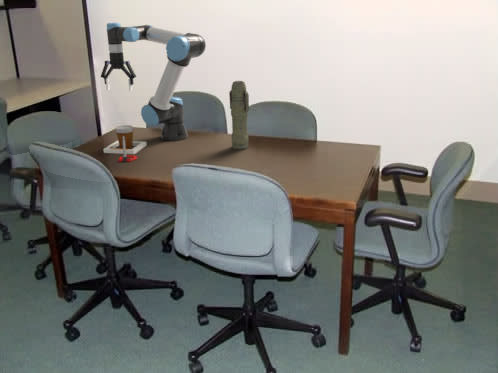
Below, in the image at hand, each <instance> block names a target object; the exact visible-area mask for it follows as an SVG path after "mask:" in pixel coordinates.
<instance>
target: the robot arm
mask: <svg viewBox="0 0 498 373" xmlns="http://www.w3.org/2000/svg"><path fill="white" fill-rule="evenodd" d="M106 34H107V43H108V44H107V45H108V53H109V60H104V66H103V68H102V71H101V74H100V78H103V80H104V84H105V86H106V91H110V90H111V86H110V78H109V77H110V75H111V74H112V72H113V70H122V72H123V73H124V74H125V75H126V76H127V77H128V89H129V92H132V91H133V90H134V89H133V85H134V79H135V78H137V75H136V73H135V71H134V69H133V67H132V66H131V63H130V60H127V61H126V60H124V48H123V42H127V43H135V42H137V41H148V42H154V43H158V44H162V45H165V50H166V58H167V63H166V66H165V68H164V71H163V73H162V76H161V78H160V81H159V83H158V86H157V88H156V91H155V93H154V95H153V96H151V97H150V98H149V101H148V103H147V104H144V105H143V106H142V108H141V110H140V115H141V117H142V120H143V122H144V123H145V124H146V125H147V126H151V127H153V126H158V125H161V124H163V125H162V128H161V133H160V139H161V140H164V141H182V140H185V139H187V138H188V131H187V130H188V129H187V128H186V126H185V121H184V120H185V119H184V104H183V99H182V98H181V97H177V96H174V92H175V91H176V87H177V85H178V83H179V80H180V78H181V76H182V74H183V71H184V69H185V68H187V67H188V66H189V64H190V62H191V59H194V58H197V57H200V56H201V55H203V54H204V52H205V50H206V48H207V47H206V41H205V39H204V37H203V36H202V35H200V34H197V33H191V32H187V33H181V32H177V31H171V30H168V29H163V28H157V27H154V26H153V25H150V24H145V25H137V26H136V25H135V26H134V25H133V26H122V25H121V23H120V22H108V23H106ZM109 65H110V67H109ZM126 67H127V68H126Z"/></svg>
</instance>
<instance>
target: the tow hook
mask: <svg viewBox="0 0 498 373" xmlns="http://www.w3.org/2000/svg"><path fill="white" fill-rule="evenodd" d="M137 158H138V157H137V156H136V155H134V154H126V147H125V139H124V136H123V154H122V156H120V157H119V158H118V162H125V163H127V162H129V163H131V162H133V161H135V160H137Z"/></svg>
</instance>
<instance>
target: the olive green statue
mask: <svg viewBox="0 0 498 373" xmlns="http://www.w3.org/2000/svg"><path fill="white" fill-rule="evenodd" d="M228 94H229V109H230V117H231V125H232V127H231V128H232V129H231V130H232V131H231V148H232V149H233V150H246V149H249V133H248V115H249V114H248V113H249V110H250V109H249V108H250V105H249V103H250V102H249V100H250V99H249V98H250V97H249V96H250V95H249V92H248V91H247V86H246V83H245V82H244V81H243V80H235V81H233V82H232V84H231V88H230V90H229V93H228Z"/></svg>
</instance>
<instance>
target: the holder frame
mask: <svg viewBox="0 0 498 373" xmlns="http://www.w3.org/2000/svg"><path fill="white" fill-rule="evenodd" d="M147 145H148V144H147V141H137V140H134V141H133V144H132V149H126V155H135V154H137V153H139V151H141V150H143V149H144V148H145V147H147ZM117 147H120V145H119V141H118V140H116V141H114V142H113V143H111V144H109V145H107V146H106V147H105V148H103V153H104V154H119V155H120V154H121V155H123V149H120V148H117Z"/></svg>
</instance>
